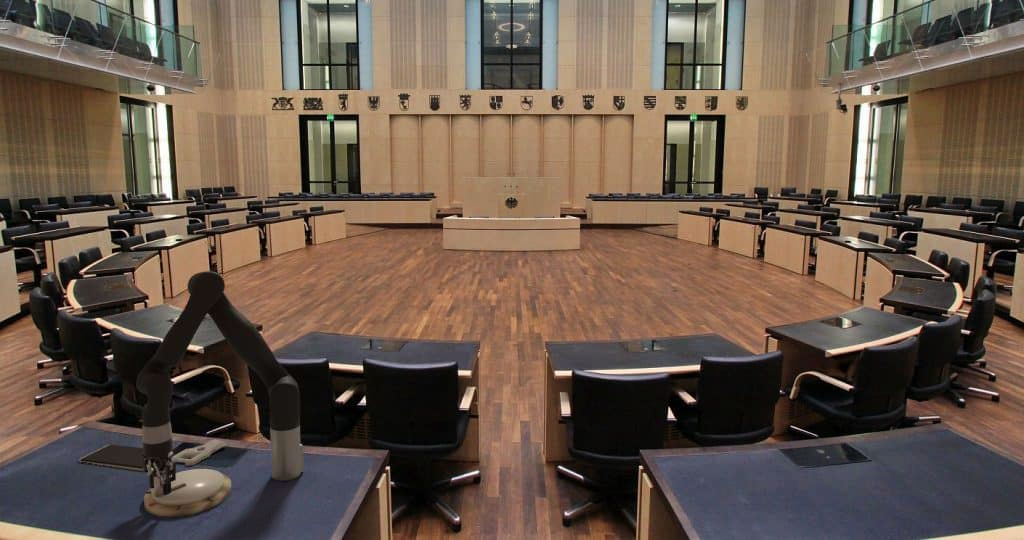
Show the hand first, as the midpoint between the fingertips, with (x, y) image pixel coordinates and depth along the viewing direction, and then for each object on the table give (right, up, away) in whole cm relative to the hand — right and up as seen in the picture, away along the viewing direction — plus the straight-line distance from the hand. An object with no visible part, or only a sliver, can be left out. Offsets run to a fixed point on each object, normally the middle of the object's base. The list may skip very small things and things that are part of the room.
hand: (160, 490), depth 186 cm
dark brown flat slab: (-30, -1, +32) cm, 44 cm away
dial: (+4, -2, +8) cm, 9 cm away
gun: (-6, -1, +36) cm, 36 cm away
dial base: (+4, -5, +8) cm, 10 cm away
